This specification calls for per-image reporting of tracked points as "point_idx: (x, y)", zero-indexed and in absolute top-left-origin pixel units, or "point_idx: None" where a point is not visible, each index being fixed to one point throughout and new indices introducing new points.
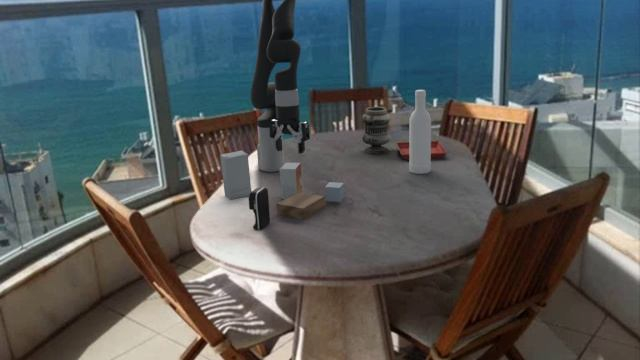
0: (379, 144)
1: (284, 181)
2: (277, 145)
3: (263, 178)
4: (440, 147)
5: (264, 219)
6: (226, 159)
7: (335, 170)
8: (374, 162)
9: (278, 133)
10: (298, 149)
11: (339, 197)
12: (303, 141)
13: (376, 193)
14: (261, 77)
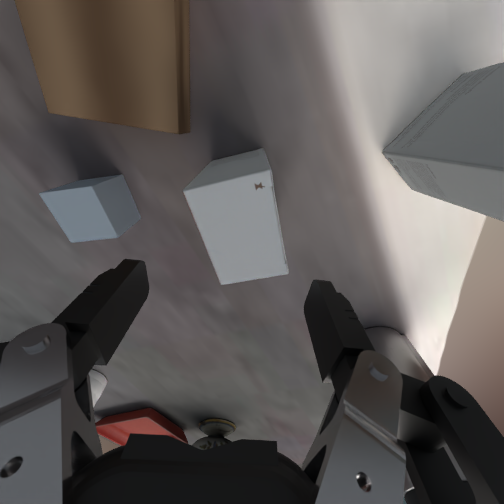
0: (201, 438)
1: (247, 161)
2: (337, 309)
3: (378, 291)
4: (121, 440)
5: None
6: None
7: (232, 357)
8: (188, 393)
9: (363, 449)
10: (124, 276)
11: (70, 183)
12: (8, 342)
13: (54, 265)
14: None
